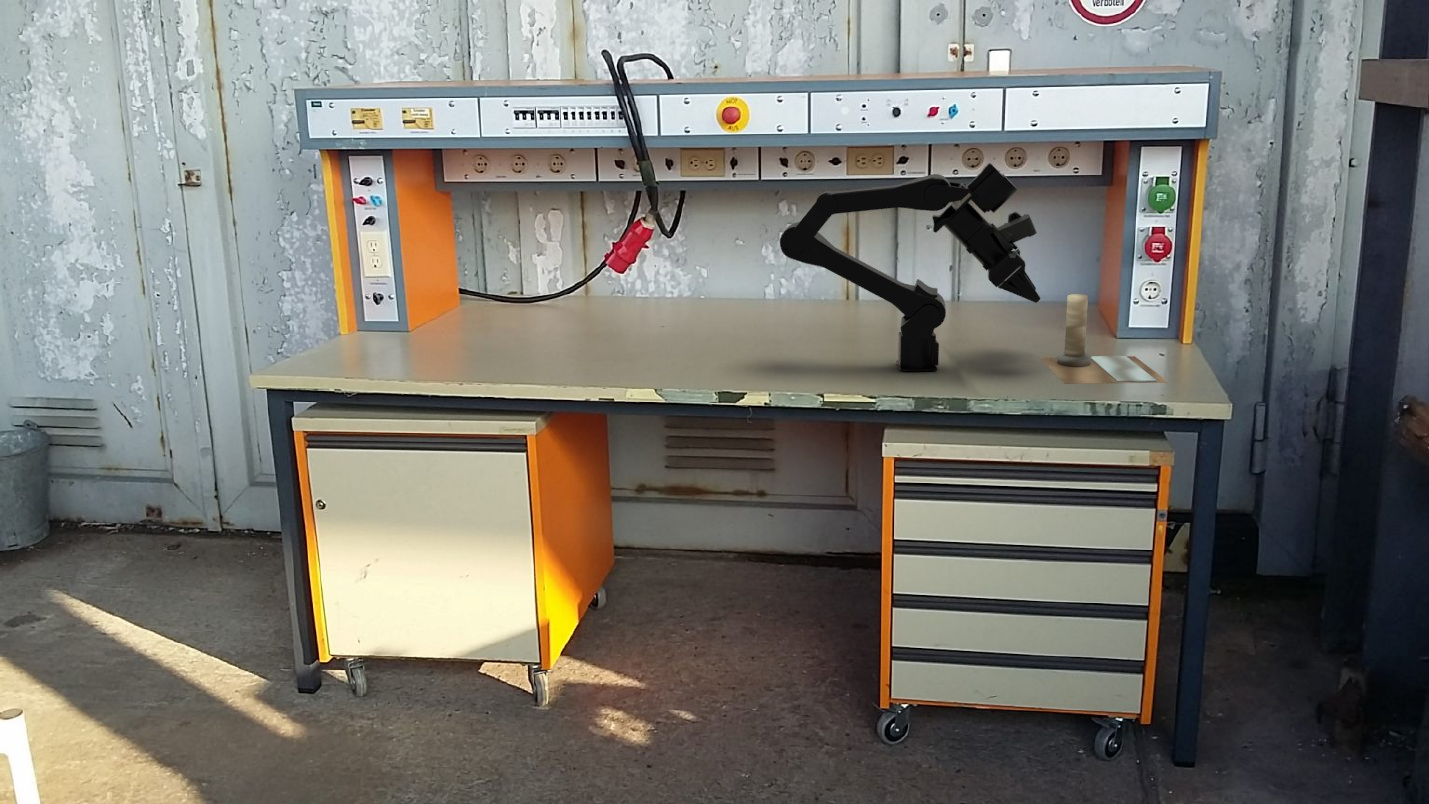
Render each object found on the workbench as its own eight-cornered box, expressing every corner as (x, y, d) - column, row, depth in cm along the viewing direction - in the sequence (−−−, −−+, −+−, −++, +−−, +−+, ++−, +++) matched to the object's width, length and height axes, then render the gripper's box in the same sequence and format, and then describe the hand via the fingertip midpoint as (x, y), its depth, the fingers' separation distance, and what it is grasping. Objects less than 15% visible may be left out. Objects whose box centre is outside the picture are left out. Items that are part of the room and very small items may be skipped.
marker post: (1061, 367, 212) (1065, 299, 209) (1053, 359, 218) (1057, 293, 214) (1094, 366, 212) (1098, 298, 209) (1085, 359, 217) (1089, 292, 214)
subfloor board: (1064, 390, 202) (1065, 382, 202) (1038, 364, 220) (1039, 356, 219) (1168, 389, 202) (1168, 380, 202) (1134, 362, 219) (1134, 355, 219)
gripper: (1012, 205, 200) (1078, 272, 201) (1005, 192, 218) (1066, 254, 219) (962, 252, 204) (1026, 318, 205) (959, 236, 221) (1019, 297, 223)
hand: (1036, 295), depth 213 cm, fingers open, 9 cm apart
